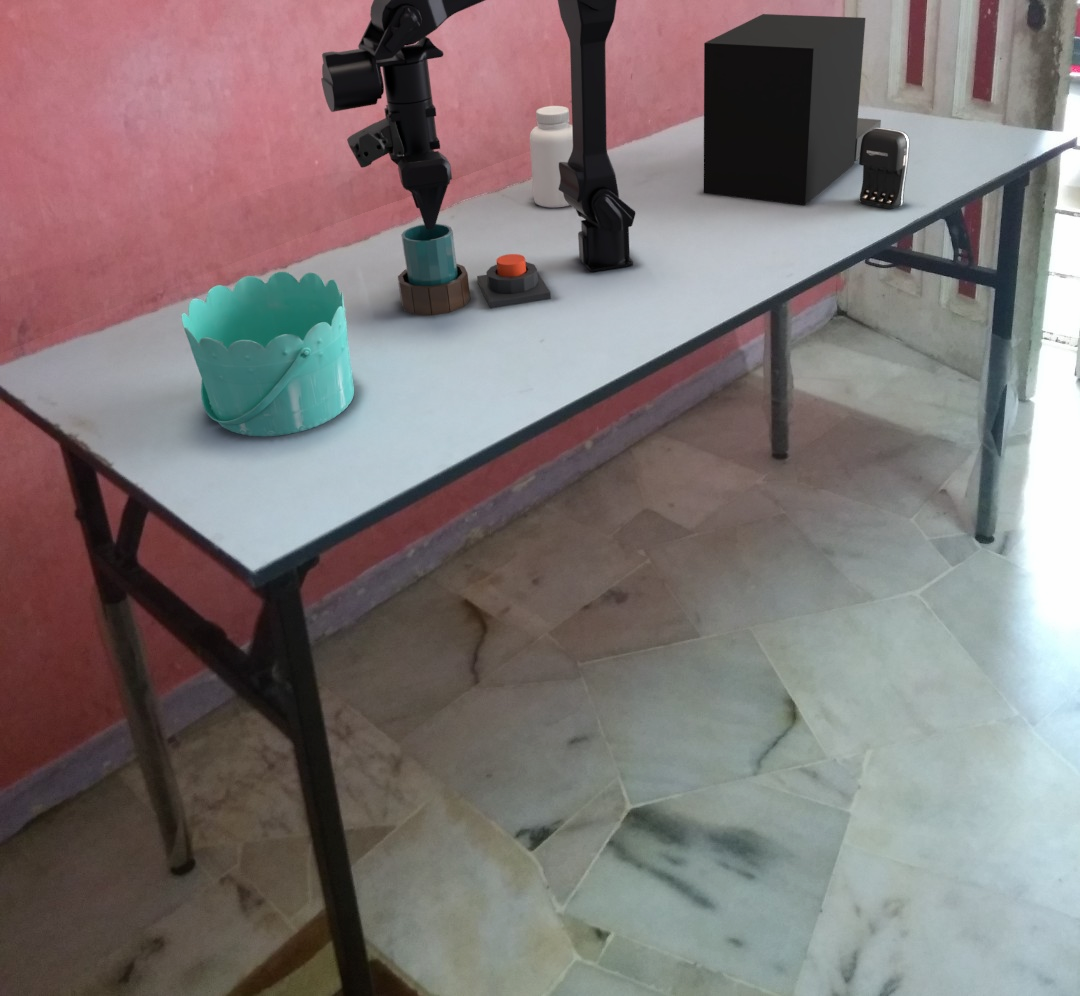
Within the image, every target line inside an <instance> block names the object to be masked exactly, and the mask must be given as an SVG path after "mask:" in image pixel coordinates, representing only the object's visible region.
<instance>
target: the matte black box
mask: <svg viewBox="0 0 1080 996" xmlns="http://www.w3.org/2000/svg"><path fill="white" fill-rule="evenodd" d="M865 31H866V17H858V16H857V17H855V16H854V17H853V16H828V15H827V16H826V15H803V14H802V15H800V14H799V15H798V14H775V13H774V14H773V13H772V14H771V13H762V14H760V15H758V16H756V17H754V18H752V19H749V20H748V21H746V22H743V23H741V24H740V25H738V26H736V27H733V28H732V29H729V30H728V31H725V32H724V33H721V34H719V35H718V36H716V37H714V38H711V39H709V40H707V41H706V42H704V44H703V191H702V192H703V194H706V195H716V196H723V197H724V196H725V197H732V198H741V199H749V200H755V201H765V202H773V203H781V204H791V205H799V206H806V205H807V204H809V203H810V201H812V200H814V198H816V197H817V196H818V195H819V194H820V193H822V192H823V191H825V189H827V188H828V187H829V186H830V185H831V184H832V183H833V182H835V181H836V180H837V179H838V178H840V177H841V176H843V174H844V173H846V172H847V171H848V170H849V169H851V168H852V167H853V166H854V165H855V162H856V161H857V160H858V161H859V158H860V148H861V142H862V138H863V136H864V135H865V134H866V133H867V132H869V131H871V130H872V129H874V128H881V124H882V120H881V119H875V118H864V117H863V118H861V117H859V108H860V95H861V81H862V69H863V55H864V43H865V42H864V41H865Z"/></svg>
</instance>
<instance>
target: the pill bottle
mask: <svg viewBox="0 0 1080 996" xmlns="http://www.w3.org/2000/svg"><path fill="white" fill-rule="evenodd" d="M535 115H536V116H535V117H536V124H537V125H536V126H534V127H533V129H531V131H530V134H529V147H530V148H529V149H530V167H531V179H532V195H533V200H534V203H535V204H536V205H538V206H540V207H543V208H564V207H568V206H571V205H570V204H568V203H567V201H565V198H564V195H563V192H561V191H560V190H558V188H559V185H560V179H561V178H560V171H559V162H568V160H569V158H570V155H571V153H572V150H573V132H572V123H571V124H570V109H569V108H568V107H567V106H562V105H548V106H543V107H540V108H538V109H537V110H536V111H535Z"/></svg>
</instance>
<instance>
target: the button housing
mask: <svg viewBox="0 0 1080 996" xmlns="http://www.w3.org/2000/svg"><path fill="white" fill-rule="evenodd" d="M525 264H526V273H525V274H522V275H520V276H514V277H502V276H499V275H498V273H497V264H495V265H492V266H490V267H489V268H488V269H487V271H486V274H482V275H477V276H476V280H477V284H478V286H479V288H480V290H481V293H482V294H483V296H484V298H485V300H486V302H487V304H488V306H489V308H490V309H495V308H496V309H497V308H502V307H509V306H514V305H515V306H516V305H520V304H528V303H534V302H541V301H547V300H551V299H552V293H551V291H550V289H549V288H548V286H547V284H546V283H545V281H544V280H543V278H542V277H541V275H540V274H539V272H538V268H537V267H536V265H535V264H534V263H531V262H529V261H525Z"/></svg>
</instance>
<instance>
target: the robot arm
mask: <svg viewBox="0 0 1080 996" xmlns="http://www.w3.org/2000/svg"><path fill="white" fill-rule="evenodd" d="M485 1H486V0H373V1H372V3H371V6H370V15H369V16H370V21H369V22H368V25H367V26H366V29H365V31H364V32H363V35H362V37H361V39H360V41H359V43H358V46H357V47H358V48H356V49H350V50H344V51H327V52H323V53H322V54H321V58H322V62H323V63H322V66H321V74H322V77H321V87H322V91H323V95H324V99H325V102H326V104H327V107H328V109H329V111H330V112H331V113H335V112H340V111H346V110H352V109H358V108H363V107H368V106H369V107H370V106H375V105H377V103H378V101H379V100H380V99H381V100H382V97H383V95H384V92H385V97H386V103H387V104H386V105H385V107H384V117H385V118H383V119H381V120H378V121H376V122H374V123H372V124H369V125H368V126H366V127H364V128H362V129H361V130H358V131H357V132H355V133H353V134H351V135H350V136H349V137H348V138H347V140H346V141H347V144H348V147H349V148H350V150H351V152H352V154H353V156H354V157H355V160H356V161H357V163H358V165H359V166H360V168H363V169H364V168H366V167H369V166H371V165H372V163H373V162H375V161H376V160H379V159H381V158H382V157H384V156H386V155H388V156H389V158H390V160H391V161H392V162H393V163H394V164H395V165H397V170H398V174H399V181H400V183H401V185H402V188H403V189H405V190H406V191H408V192H410V193H411V196H412V200H413V202H414V205H415V207H416V209H419V212H420V216H421V218H422V222H423V225H425V228H426V229H427V230H430V229H434V228H435V224H437V221H438V217H439V214H440V211H441V208H442V205H443V201H444V199H445V195H446V192H447V189H448V186H449V185H450V184H451V180H453V176H452V167H451V163H450V161H449V160H448V158H447V156H445V155H444V154H443V153H442V152H440V151H438V150H440V149H441V142H440V139H439V138H438V135H437V127H436V118H435V117H437V110H436V106H435V105H434V102H433V95H432V87H431V77H430V69H429V61H428V60H432V59H438V58H443V57H444V51H443V50H441V49H440V48H438V47H437V46H436V45H435V44H434V43H433V42H432V40H431V39H430V38H429V37H427V36H429V35H430V34H432V33H433V32H435V31H436V30H437V29H439V27H440V26H442V25H443V23H445V21H446V20H448V19H449V18H450V17H452V16H453V15H455V14H457V13H459V12H461V11H464V10H466V9H468V8H469V9H470V8H471V7H473V6H475V5H477V4H478V5H479V4H480V3H482V2H485ZM617 3H618V0H557V4H558V11H559V14H560V15H559V16H560V19H561V22H562V24H563V27H564V29H565V32H566V35H567V38H568V40H569V52H570V53H569V54H570V55H569V56H570V58H569V59H570V91H571V92H570V94H571V125H572V132H573V150H572V153H571V155H570V158H569V160H568V162H559V171H560V178H561V179H560V185H559V188H558V190H560V191H561V192H563V195H564V198H565V201H567V203H568V204H570V205H569V206H570V207H572V208H573V209H575V211H576V214H577V216H578V217H580V218H582V220H580V224H581V225H580V226H581V231H578V233H577V239H578V253H579V254H578V255H579V257H578V258H579V260H580V261H581V262H582V264H583V265H585V267H586V268H587V269H588V271H589V272H592V273H594V272H595V273H596V272H601V271H607V270H608V271H609V270H613V269H620V268H626V267H632V266H634V261H633V259H632V258H631V257H630V227H632V226H633V224H634V220H635V217H636V211H635V210H634V209H633V208H632V207H630V205H628V204H627V203H626V202H625V201H623V200H622V199H621V198H620V194H619V187H618V181H617V176H616V172H615V169H614V167H613V164H612V161H611V159H610V156H609V153H608V149H607V145H608V144H607V143H608V142H607V76H606V75H607V74H606V72H607V71H606V69H607V68H606V66H607V65H606V61H607V60H606V43H607V39H608V36H609V34H610V31H611V29H612V26H613V24H614V21H615V17H616V8H617ZM384 90H385V91H384ZM435 150H437V151H435Z"/></svg>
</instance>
